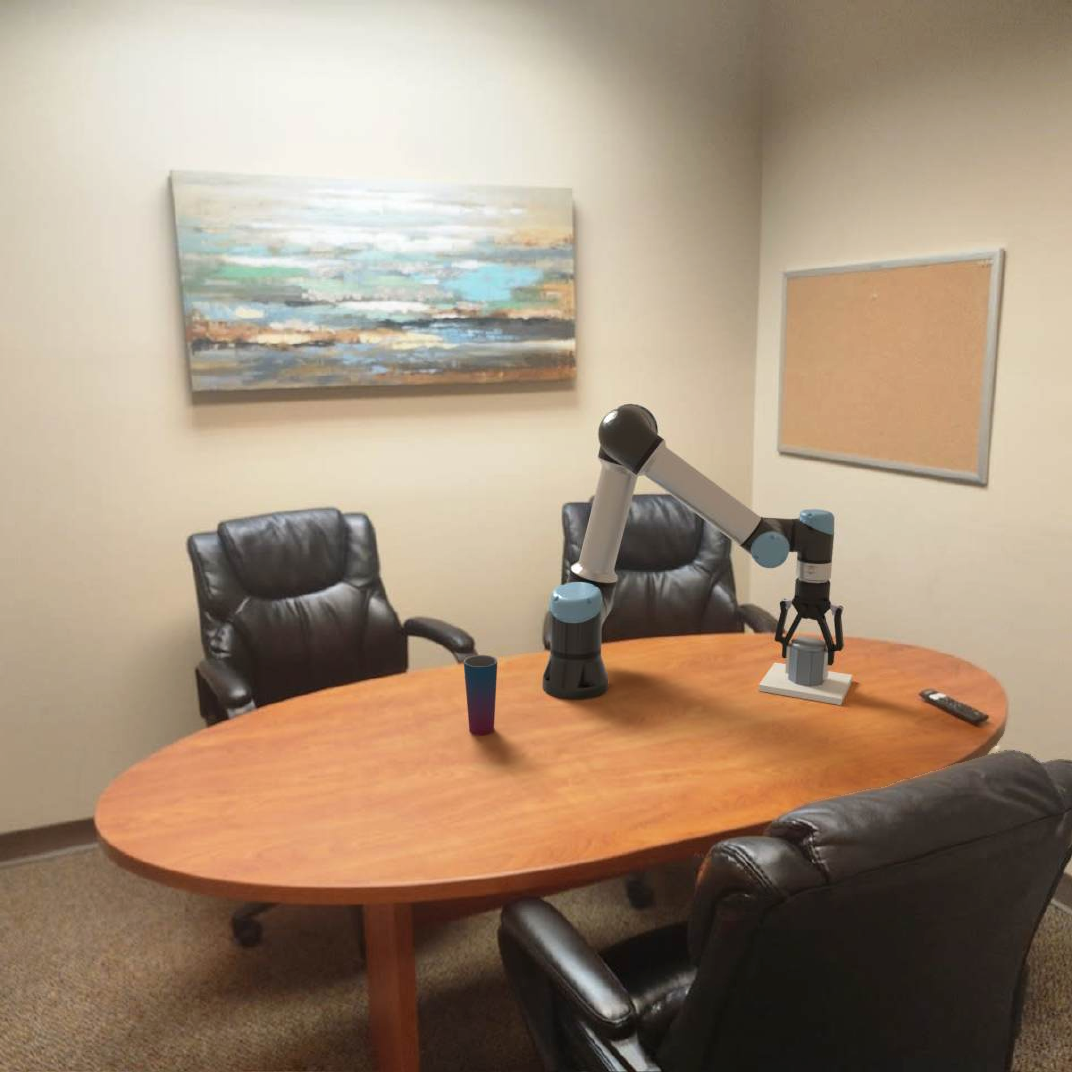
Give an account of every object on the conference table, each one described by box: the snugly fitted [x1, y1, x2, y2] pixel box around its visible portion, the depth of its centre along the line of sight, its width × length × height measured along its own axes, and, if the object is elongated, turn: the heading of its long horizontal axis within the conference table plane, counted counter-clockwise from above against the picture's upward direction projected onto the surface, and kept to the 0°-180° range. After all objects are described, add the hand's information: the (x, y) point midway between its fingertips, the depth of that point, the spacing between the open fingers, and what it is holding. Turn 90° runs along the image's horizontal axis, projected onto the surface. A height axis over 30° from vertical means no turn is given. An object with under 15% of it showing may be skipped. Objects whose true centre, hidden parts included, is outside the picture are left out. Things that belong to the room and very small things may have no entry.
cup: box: [463, 654, 498, 736], centre depth 179 cm, size 7×7×15 cm
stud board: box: [758, 662, 853, 706], centre depth 203 cm, size 18×16×8 cm
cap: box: [788, 636, 827, 686], centre depth 202 cm, size 8×8×9 cm
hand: (806, 674), depth 203 cm, fingers closed on cap, 8 cm apart
